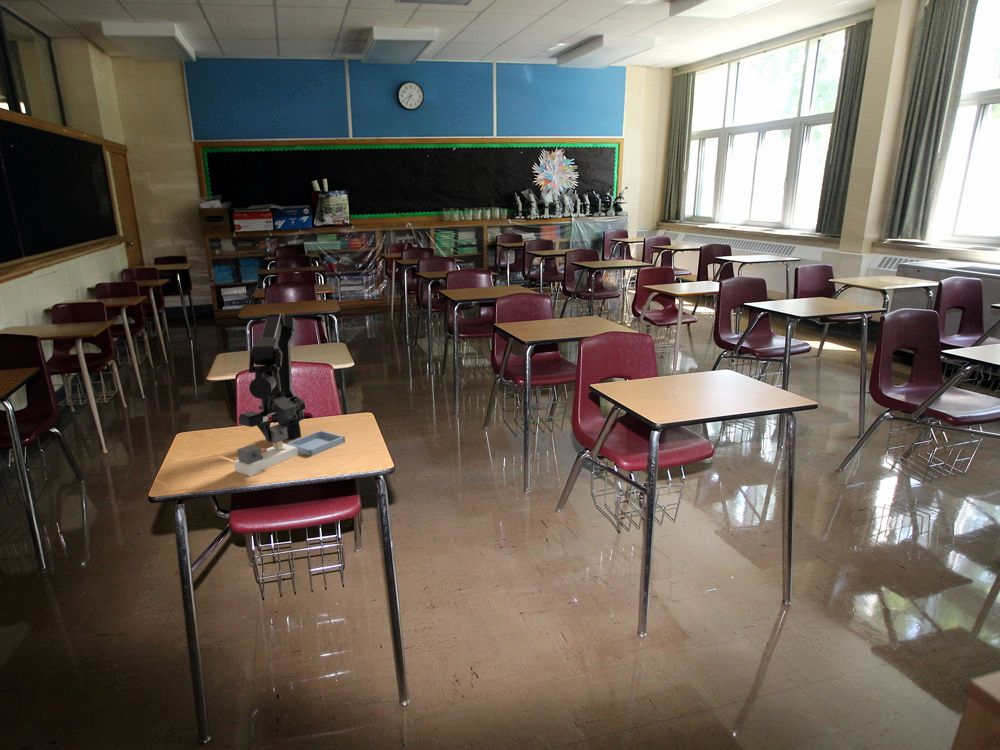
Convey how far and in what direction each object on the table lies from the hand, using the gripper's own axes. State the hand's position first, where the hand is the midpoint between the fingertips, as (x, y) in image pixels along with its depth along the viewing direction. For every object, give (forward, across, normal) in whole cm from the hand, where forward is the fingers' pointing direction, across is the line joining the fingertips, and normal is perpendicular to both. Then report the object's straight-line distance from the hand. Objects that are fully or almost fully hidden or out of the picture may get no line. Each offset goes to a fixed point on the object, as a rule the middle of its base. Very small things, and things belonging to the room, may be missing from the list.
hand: (276, 439), depth 181 cm
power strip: (+6, -4, -1) cm, 7 cm away
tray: (+6, +12, -2) cm, 14 cm away
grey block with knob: (+2, 0, 0) cm, 2 cm away
